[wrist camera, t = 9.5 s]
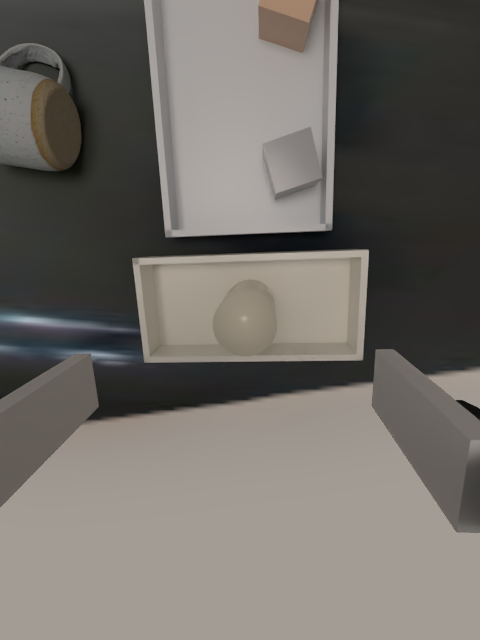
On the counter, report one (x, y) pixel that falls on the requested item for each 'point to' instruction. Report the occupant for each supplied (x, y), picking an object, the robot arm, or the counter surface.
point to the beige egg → (246, 319)
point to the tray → (237, 116)
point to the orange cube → (286, 22)
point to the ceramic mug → (36, 112)
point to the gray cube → (292, 163)
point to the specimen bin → (289, 298)
